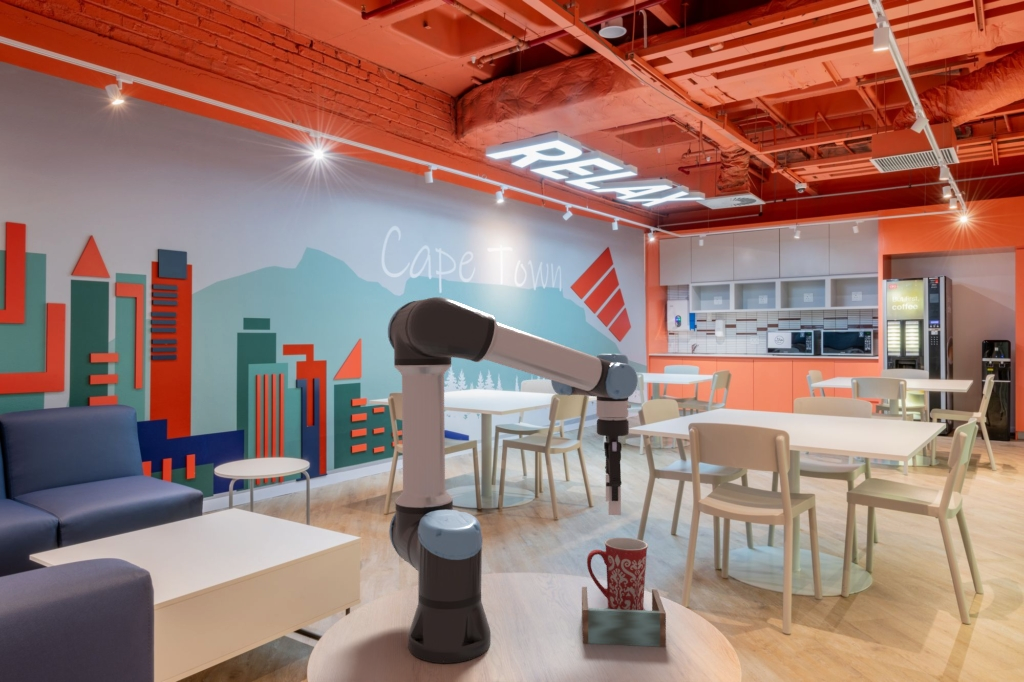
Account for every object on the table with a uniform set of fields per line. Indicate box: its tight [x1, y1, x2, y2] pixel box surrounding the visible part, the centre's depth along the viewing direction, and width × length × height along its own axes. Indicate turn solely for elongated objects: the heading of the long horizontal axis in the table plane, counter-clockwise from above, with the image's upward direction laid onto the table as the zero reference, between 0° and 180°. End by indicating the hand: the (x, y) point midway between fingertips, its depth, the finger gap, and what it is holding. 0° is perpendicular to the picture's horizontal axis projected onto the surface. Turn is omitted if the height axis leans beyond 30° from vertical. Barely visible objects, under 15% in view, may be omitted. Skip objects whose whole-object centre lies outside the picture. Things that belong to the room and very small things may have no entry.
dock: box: [581, 586, 667, 648], centre depth 123 cm, size 15×12×6 cm
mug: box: [586, 537, 649, 610], centre depth 135 cm, size 13×9×14 cm
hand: (612, 507), depth 153 cm, fingers open, 13 cm apart
